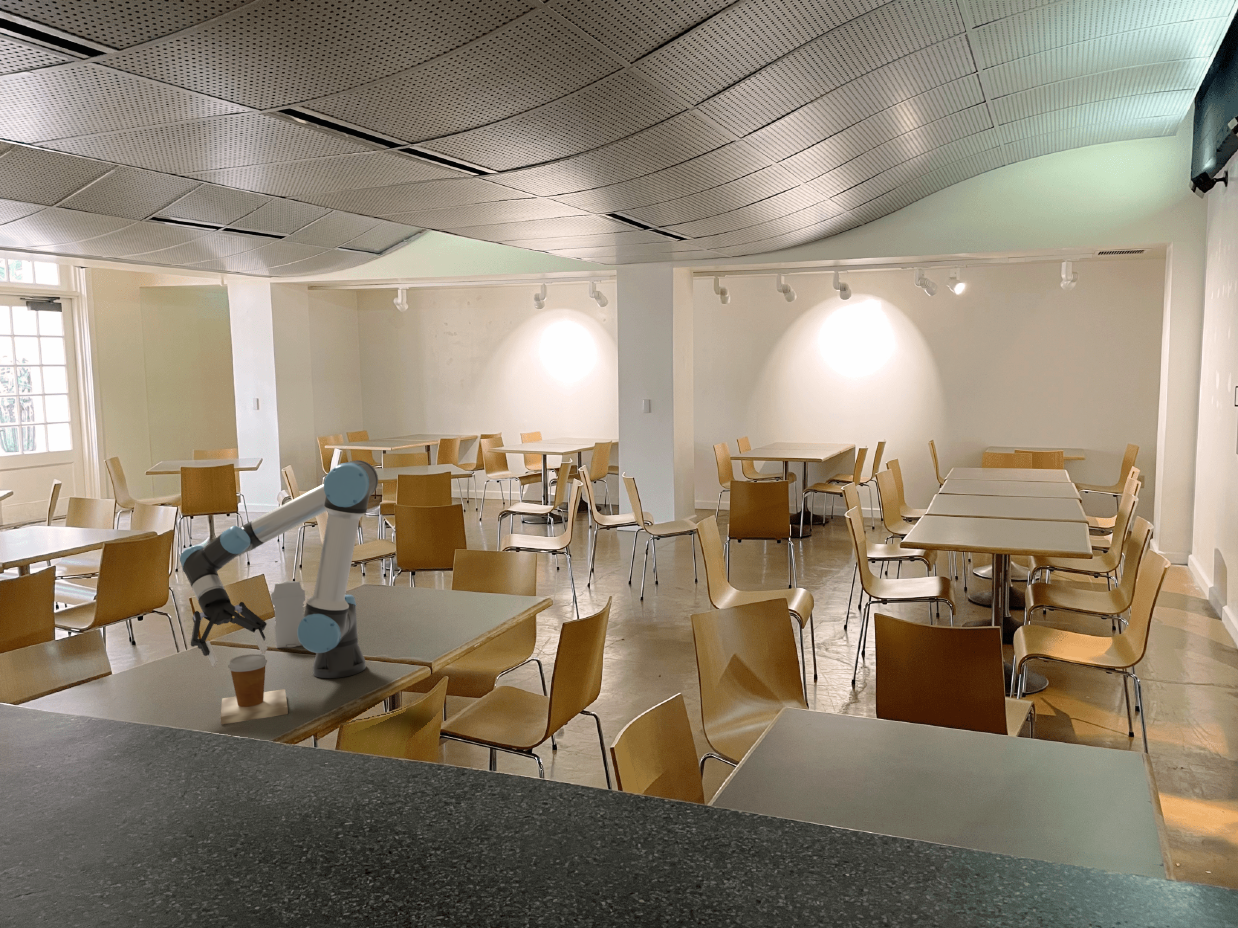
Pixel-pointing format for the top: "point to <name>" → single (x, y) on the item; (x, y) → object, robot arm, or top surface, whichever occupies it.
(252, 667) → the disposable coffee cup
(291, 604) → the tall pale column
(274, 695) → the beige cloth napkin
